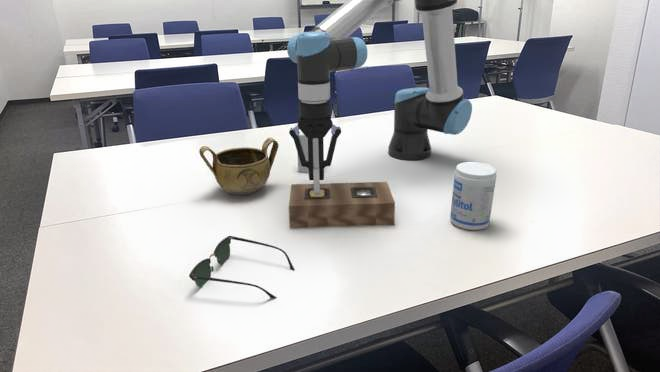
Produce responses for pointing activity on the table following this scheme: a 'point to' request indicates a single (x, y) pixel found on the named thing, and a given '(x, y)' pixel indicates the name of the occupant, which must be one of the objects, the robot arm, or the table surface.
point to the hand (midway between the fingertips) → (316, 191)
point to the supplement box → (305, 149)
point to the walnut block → (341, 205)
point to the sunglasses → (222, 253)
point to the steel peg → (363, 192)
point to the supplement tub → (472, 195)
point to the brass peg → (322, 193)
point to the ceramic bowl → (242, 167)
